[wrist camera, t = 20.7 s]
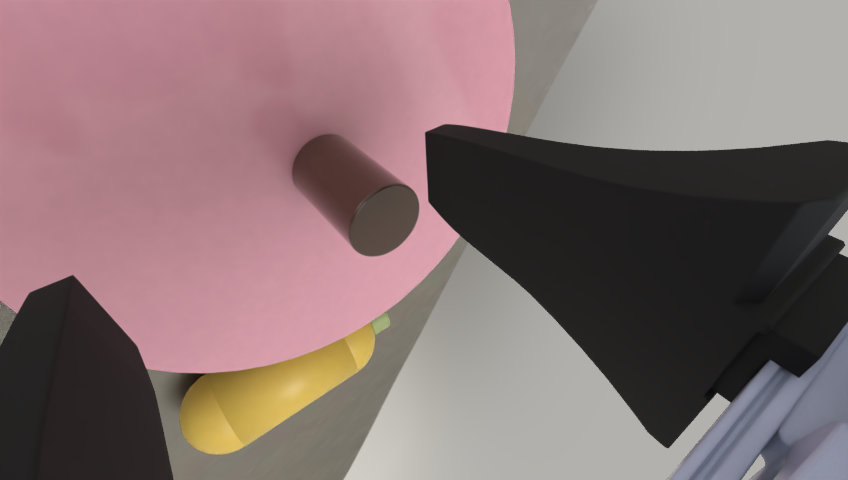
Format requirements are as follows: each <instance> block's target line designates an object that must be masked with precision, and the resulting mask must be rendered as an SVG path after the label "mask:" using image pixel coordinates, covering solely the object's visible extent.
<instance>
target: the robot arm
mask: <svg viewBox="0 0 848 480" xmlns="http://www.w3.org/2000/svg"><path fill="white" fill-rule="evenodd" d="M425 145H426V166H427V186H428V202H429V203H430V204H431V206H432V207H433V208H434V209H435V210H436V211H437V213H438V214H439V215H440V216H441V217H442V218H443V219H444V220H445V221H446V222H447V224H448V225H449V226H450V227H451V228H452V229H453V230H454V231H456V232H457V233H458V234H459V235H460V236H461V237H463V238H464V239H465V240H466V241H467V242H469V243H470V244H471V245H472V246H473V247H475V248H476V249H477V250H478V251H480V252H481V253H482V254H483V255H484V256H486V257H487V258H488V259H489V260H490V261H492V262H493V263H494V264H495V265H497V266H498V267H499V268H500V269H502V270H503V271H504V272H505V273H507V274H508V275H509V276H510V277H511V278H513V279H514V280H515V281H516V282H517V283H518V284H520V285H521V286H522V287H523V288H524V289H525V290H526V291H527V292H529V293H530V294H531V295H532V296H533V297H534V298H535V299H536V300H537V302H539V304H540V305H541V306H543V308H544V309H545V310H547V312H548V313H549V314H550V315H551V316H552V317H553V318H554V319H555V320H556V321H557V322H558V323H559V324H560V325H561V326H562V327H563V329H564V330H565V331H566V332H567V333H568V334H569V335H570V336H571V337H572V338H573V340H575V342H576V343H577V344H578V345H579V346H580V347H581V348H582V349H583V351H584V352H585V353H586V354H587V355H588V357H589V358H590V359H591V360H592V361H593V362H594V364H595V365H596V366H597V367H598V368H599V370H601V372H602V373H603V374H604V375H605V377H606V378H607V379H608V380H609V382H610V383H611V384H612V385H613V387H614V388H615V389H616V390H617V392H618V393H619V394H620V396H621V397H622V398H623V400H624V401H625V402H626V403H627V405H628V406H629V407H630V408H631V410H632V411H633V412H634V414H635V415H636V416H637V418H638V419H639V420H640V422H641V423H642V425H643V426H644V427H645V429H646V430H647V432H648V433H649V434H650V435H652V436H653V437H654V438H655V439H656V440H657V441H659V442H660V443H661V444H662V445H663V446H665V447H666V448H669V447H670V446H671V445H672V444H673V443H674V441H675V440H676V439H677V438H678V437H679V436H680V435H681V433H682V432H683V431H684V430H685V429H686V427H688V425H689V424H690V423H691V422H692V421H693V420H694V418H696V416H697V415H698V414H699V413H700V412H701V411H702V410H703V408H704V407H705V406H706V405H707V404H708V403H709V402H710V400H711V399H712V398H713V397H714V396H715V395H716V393H718V394H720V395H721V396H723V397H724V398H725V399H727V400H728V401H730V402H731V403H730V405H729V406H728V407H727V408H726V409H725V411H724V412H723V413H722V414H721V415H720V417H719V418H718V419H717V420H716V422H715V423H714V424H713V425H712V426H711V427H710V429H709V430H708V431H707V432H706V434H705V435H704V436H703V437H702V438H701V439H700V440H699V442H698V443H697V444H696V445H695V446H694V448H693V449H692V450H691V451H690V452H689V454H688V455H687V456H686V457H685V458H684V460H683V461H682V462H681V463H680V464H679V465H678V467H677V468H676V469H675V470H674V471H673V473H672V474H671V475H670V476H669V477H668V479H667V480H741V479H742V478H743V477H744V475H745V474H746V473H747V471H748V470H749V468H750V467H751V466H752V464H753V463H754V462H755V460H756V459H757V457H758V456H759V455H760V454H761V455H762V457H763V458H764V460H765V466H764V467H763V468H762V469H761V470H760V471H758V472H757V473H756V474H755V475H754V476H752V477H751V478H750V479H749V480H848V257H846V256H843V255H841V254H839V252H840V251H841V250H842V249H843V248H844V246H845V244H844V242H843V241H841V240H839V239H837V238H834V237H832V236H830V235H828V233H829V232H830V231H831V230H832V228H833V227H834V226H835V225H836V224H837V222H838V221H839V220H840V219H841V217H842V216H843V215H844V214H845V212H846V211H847V210H848V143H847V142H838V141H828V140H827V141H818V142H808V143H800V144H790V145H781V146H773V147H762V148H748V149H731V150H709V151H648V150H628V149H615V148H602V147H592V146H584V145H577V144H569V143H562V142H555V141H549V140H543V139H537V138H531V137H526V136H520V135H515V134H509V133H504V132H499V131H493V130H488V129H482V128H476V127H470V126H463V125H454V124H444V125H441V126H439V127H436V128H434V129H431V130H429V131H426V132H425ZM0 480H173V475H172V470H171V465H170V461H169V456H168V451H167V446H166V441H165V437H164V432H163V427H162V422H161V418H160V413H159V409H158V404H157V400H156V395H155V391H154V388H153V386H152V383H151V380H150V377H149V375H148V372H147V369H146V367H145V364H144V362H143V359H142V357H141V354H140V352H139V349H138V347H137V345H136V344H135V343H134V342H133V341H132V339H131V338H130V337H129V336H128V335H127V334H126V333H125V332H124V331H123V329H122V328H121V327H120V326H119V325H118V324H117V323H116V322H115V321H114V319H113V318H112V317H111V316H110V315H109V314H108V313H107V312H106V311H105V309H104V308H103V307H102V306H101V305H100V304H99V303H98V302H97V301H96V299H95V298H94V297H93V296H92V295H91V294H90V293H89V292H88V291H87V289H86V288H85V287H84V286H83V285H82V284H81V283H80V282H79V281H78V279H77V278H76V277H75V276H74V275H71V276H69V277H67V278H64V279H62V280H59V281H57V282H54V283H52V284H49V285H47V286H44V287H42V288H39V289H37V290H34V291H32V292H30V293H29V294H28V296H27V297H26V299H25V301H24V302H23V304H22V306H21V308H20V310H19V312H18V314H17V315H16V317H15V319H14V321H13V323H12V325H11V327H10V329H9V331H8V333H7V335H6V336H5V338H4V340H3V342H2V344H1V346H0Z"/></svg>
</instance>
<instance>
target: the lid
mask: <svg viewBox="0 0 848 480" xmlns="http://www.w3.org/2000/svg"><path fill="white" fill-rule="evenodd" d="M514 77H515V44H514V30H513V23H512V16H511V9H510V3H509V0H0V301H1V302H2V303H4V304H5V305H6V306H8V307H9V308H10V309H12V310H13V311H14V312H16V313H17V314H18V312H19V310H20V308H21V306H22V304H23V302H24V301H25V299H26V297H27V296H28V294H29V293H30V292H32V291H34V290H37V289H39V288H42V287H44V286H47V285H49V284H52V283H54V282H57V281H59V280H62V279H64V278H67V277H69V276H71V275H74V276H75V277H76V278H77V279H78V281H79V282H80V283H81V284H82V285H83V286H84V287H85V288H86V289H87V291H88V292H89V293H90V294H91V295H92V296H93V297H94V298H95V299H96V301H97V302H98V303H99V304H100V305H101V306H102V307H103V308H104V309H105V311H106V312H107V313H108V314H109V315H110V316H111V317H112V318H113V319H114V321H115V322H116V323H117V324H118V325H119V326H120V327H121V328H122V329H123V331H124V332H125V333H126V334H127V335H128V336H129V337H130V338H131V339H132V341H133V342H134V343H135V344H136V345H137V347H138V349H139V352H140V354H141V357H142V359H143V362H144V364H145V367H146V369H150V370H158V371H167V372H175V373H217V372H229V371H240V370H246V369H251V368H257V367H262V366H268V365H271V364H275V363H279V362H282V361H286V360H290V359H293V358H296V357H299V356H302V355H304V354H307V353H310V352H313V351H315V350H318V349H320V348H323V347H325V346H327V345H329V344H331V343H333V342H336V341H338V340H340V339H342V338H344V337H346V336H347V335H349V334H351V333H353V332H355V331H356V330H358V329H360V328H362V327H364V326H365V325H367V324H368V323H370V322H371V321H373V320H374V319H376V318H377V317H379V316H380V315H382V314H383V313H385V312H386V311H387V310H388V309H390V308H391V307H392V306H394V305H395V304H396V303H397V302H399V301H400V300H401V299H403V298H404V297H405V296H406V295H407V294H408V293H409V292H410V291H411V290H413V289H414V288H415V287H416V286H417V285H418V284H419V283H420V282H421V281H422V280H423V279H424V278H425V277H426V276H427V275H428V274H429V273H430V272H431V271H432V270H433V269H434V268H435V267H436V265H437V264H438V263H439V262H440V261H441V259H442V258H443V257H444V256H445V255H446V253H447V252H448V251H449V250H450V249H451V247H452V246H453V244H454V243H455V242H456V240H457V239H458V237H459V236H460V235H459V234H458V233H457V232H456V231H454V230H453V229H452V228H451V227H450V226H449V225H448V224H447V222H446V221H445V220H444V219H443V218H442V217H441V216H440V215H439V214H438V213H437V211H436V210H435V209H434V208H433V207H432V206H431V204H430V203H429V202H428V186H427V166H426V145H425V132H426V131H429V130H431V129H434V128H436V127H439V126H441V125H444V124H454V125H463V126H470V127H476V128H482V129H488V130H493V131H499V132H504V133H506V132H507V127H508V123H509V119H510V113H511V106H512V99H513V92H514Z"/></svg>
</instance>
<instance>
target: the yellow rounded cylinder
mask: <svg viewBox="0 0 848 480" xmlns="http://www.w3.org/2000/svg"><path fill="white" fill-rule="evenodd" d="M389 326H390V320H389V317H388V315H387V313H386V312H385V313H383V314H382V315H380V316H379V317H377V318H376V319H374V320H373V321H371V322H370V323H368V324H367V325H365V326H364V327H362V328H360V329H358V330H356V331H355V332H353V333H351V334H349V335H347V336H346V337H344V338H342V339H340V340H338V341H336V342H333V343H331V344H329V345H327V346H325V347H323V348H320V349H318V350H315V351H313V352H310V353H307V354H304V355H302V356H299V357H296V358H293V359H290V360H286V361H282V362H279V363H275V364H271V365H268V366H262V367H257V368H251V369H246V370H240V371H229V372H217V373H206V374H205V375H203V376H202V377H200V378H199V379H198V380H197V381H196V382H195V383H194V384H193V385H192V386H191V387H190V389H189V390H188V391H187V393H186V395H185V397H184V399H183V401H182V404H181V408H180V417H179V421H180V426H181V430H182V433H183V435H184V437H185V439H186V440H187V441H188V442H189V443H190V444H191V445H192V446H193V447H194V448H196V449H198V450H199V451H202V452H205V453H208V454H216V455H220V454H228V453H231V452H234V451H237V450H239V449H241V448H243V447H244V446H246V445H248V444H250V443H251V442H253V441H254V440H256V439H257V438H259V437H260V436H262V435H263V434H265V433H266V432H268V431H269V430H271V429H272V428H274V427H275V426H277V425H278V424H280V423H281V422H283V421H284V420H286V419H287V418H289V417H290V416H292V415H293V414H295V413H296V412H298V411H299V410H301V409H302V408H304V407H306V406H307V405H309V404H310V403H312V402H313V401H315V400H316V399H318V398H319V397H321V396H322V395H324V394H325V393H327V392H328V391H330V390H331V389H333V388H334V387H336V386H337V385H339V384H340V383H342V382H343V381H345V380H346V379H348V378H349V377H351V376H352V375H354V374H355V373H357V372H358V371H359V370H361V369H362V368H363V367H364V366H365V365H366V364H367V362H368V361H369V359H370V357H371V356H372V353H373V350H374V345H375V335H376V334H378V333H379V332H381V331H382V330H384V329H386V328H387V327H389Z"/></svg>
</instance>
